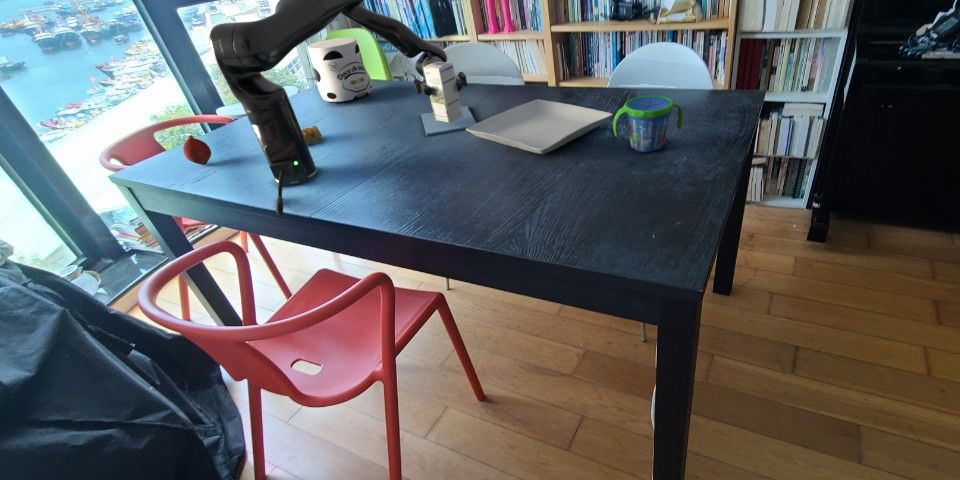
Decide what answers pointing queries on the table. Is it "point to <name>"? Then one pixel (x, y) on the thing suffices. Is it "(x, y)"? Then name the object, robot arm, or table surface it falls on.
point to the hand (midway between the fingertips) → (443, 89)
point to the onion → (196, 150)
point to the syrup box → (443, 91)
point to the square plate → (539, 125)
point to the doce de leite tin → (340, 70)
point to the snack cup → (648, 121)
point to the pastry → (312, 135)
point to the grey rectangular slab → (442, 127)
